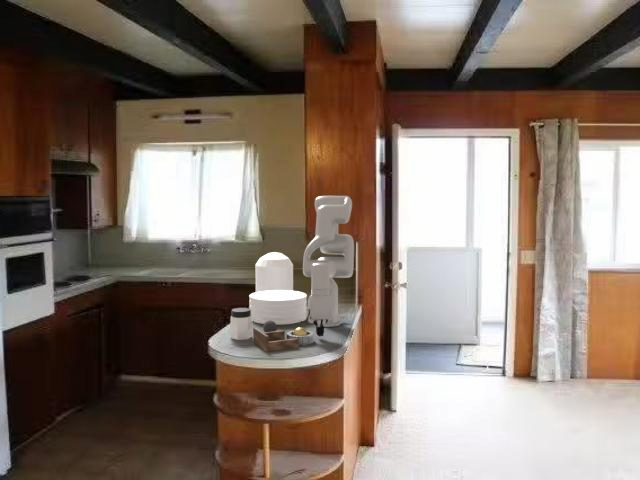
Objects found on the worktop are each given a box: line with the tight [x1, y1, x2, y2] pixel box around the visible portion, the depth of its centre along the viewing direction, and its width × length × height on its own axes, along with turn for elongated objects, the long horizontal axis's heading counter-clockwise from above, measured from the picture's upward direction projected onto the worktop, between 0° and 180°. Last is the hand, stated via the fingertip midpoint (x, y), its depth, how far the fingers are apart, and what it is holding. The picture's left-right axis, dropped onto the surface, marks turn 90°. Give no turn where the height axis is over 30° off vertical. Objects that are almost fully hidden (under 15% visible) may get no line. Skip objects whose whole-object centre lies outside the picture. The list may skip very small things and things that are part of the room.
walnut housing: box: [252, 327, 299, 352], centre depth 225 cm, size 14×15×6 cm
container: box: [254, 251, 294, 292], centre depth 312 cm, size 21×21×28 cm
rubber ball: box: [262, 320, 278, 333], centre depth 242 cm, size 6×6×6 cm
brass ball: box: [293, 326, 308, 336], centre depth 230 cm, size 6×6×6 cm
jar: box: [230, 307, 253, 341], centre depth 236 cm, size 9×8×12 cm
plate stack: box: [248, 290, 308, 325], centre depth 273 cm, size 28×28×12 cm
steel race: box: [286, 329, 315, 346], centre depth 230 cm, size 11×11×4 cm
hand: (320, 335), depth 234 cm, fingers closed
